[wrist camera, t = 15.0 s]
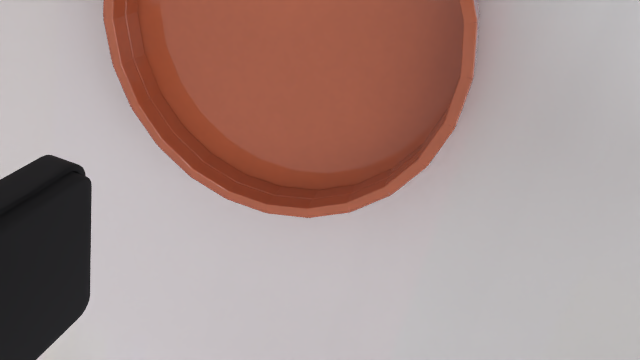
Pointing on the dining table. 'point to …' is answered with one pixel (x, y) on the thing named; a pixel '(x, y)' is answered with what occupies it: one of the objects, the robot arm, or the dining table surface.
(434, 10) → the bowl
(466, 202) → the dining table surface
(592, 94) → the dining table surface
